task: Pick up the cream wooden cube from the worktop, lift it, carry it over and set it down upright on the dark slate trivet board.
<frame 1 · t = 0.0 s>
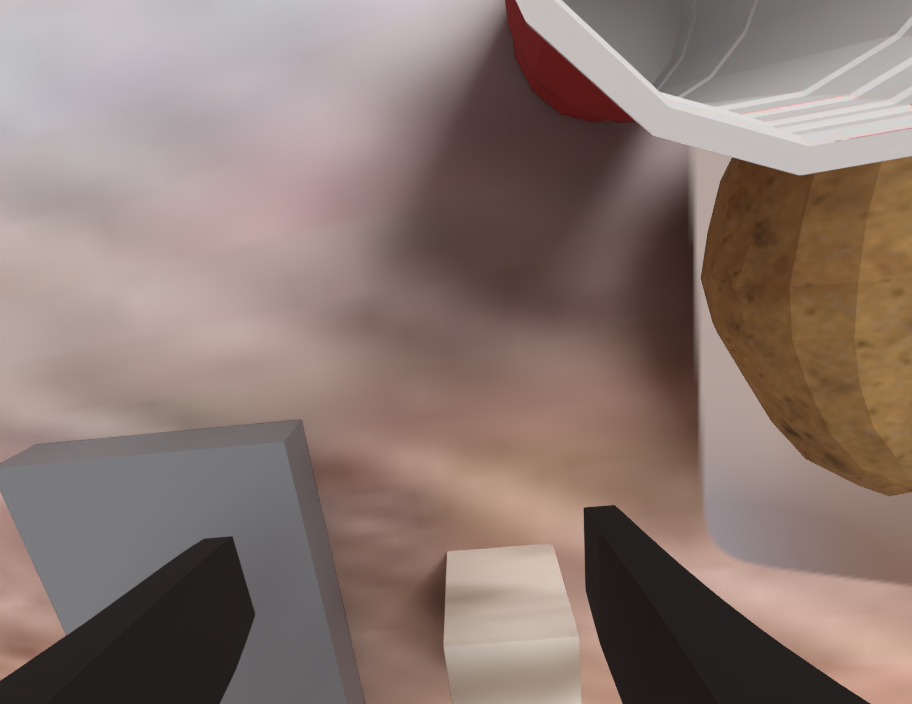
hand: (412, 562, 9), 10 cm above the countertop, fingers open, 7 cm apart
plastic cup: (598, 36, 15), on the countertop
slate board: (219, 596, 22), on the countertop
potato: (782, 252, 17), on the countertop
cream cube: (503, 588, 22), on the countertop
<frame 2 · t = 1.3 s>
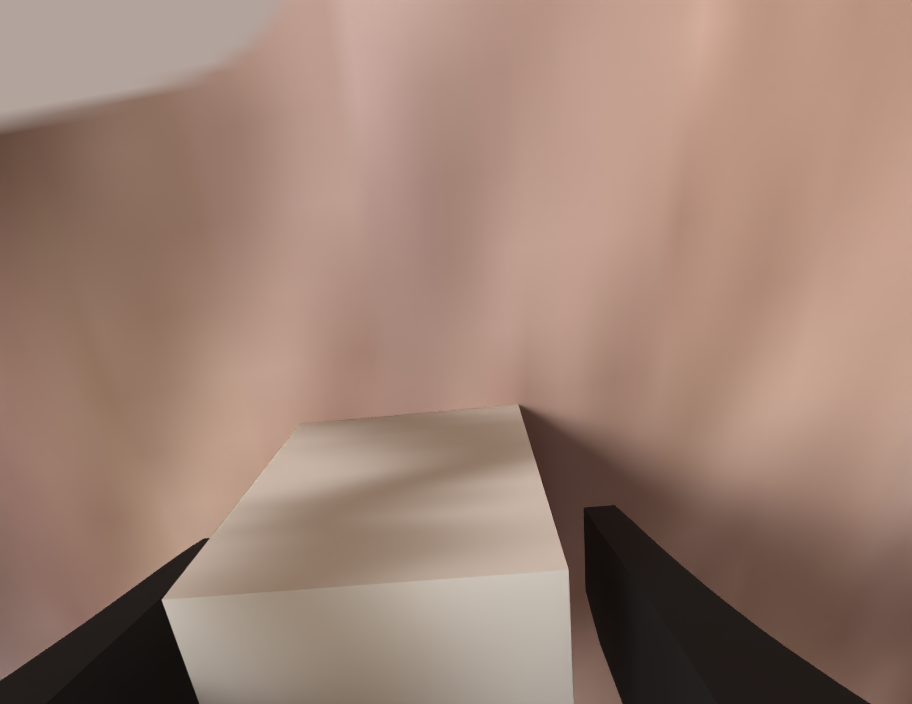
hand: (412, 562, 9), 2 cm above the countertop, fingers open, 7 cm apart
cream cube: (421, 506, 11), on the countertop
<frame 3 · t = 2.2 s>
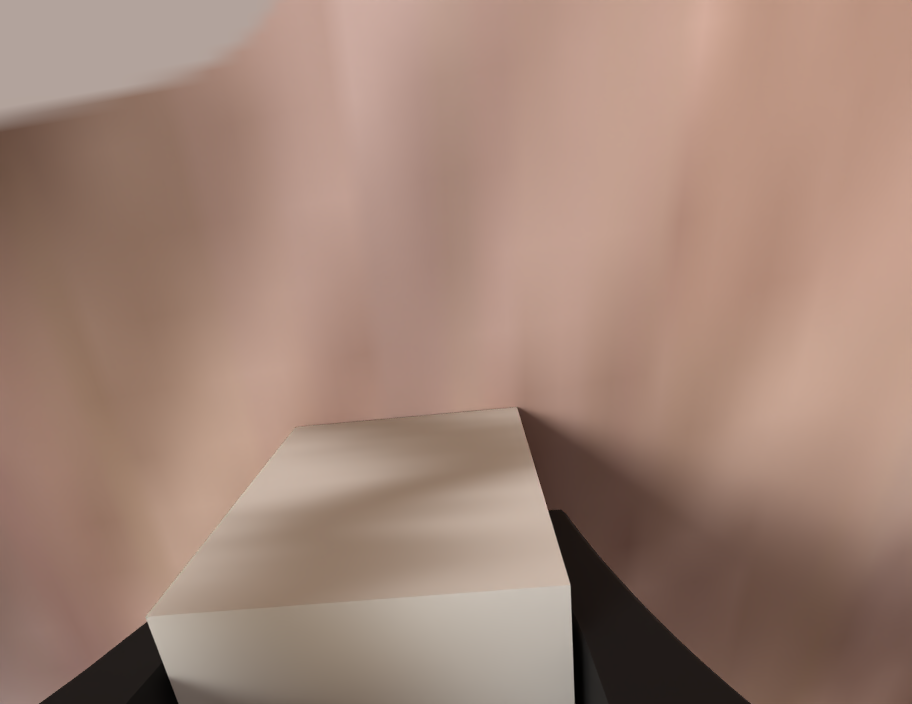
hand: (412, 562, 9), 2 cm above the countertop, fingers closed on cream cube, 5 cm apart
cream cube: (419, 512, 11), on the countertop, touching gripper
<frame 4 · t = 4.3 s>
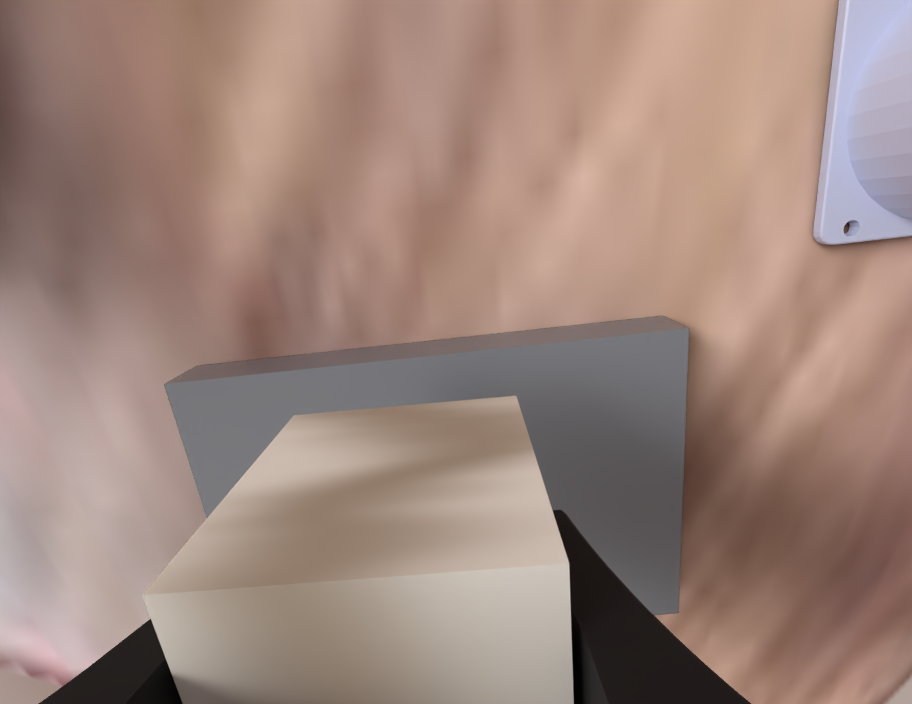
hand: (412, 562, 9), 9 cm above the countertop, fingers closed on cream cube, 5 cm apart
slate board: (443, 478, 19), on the countertop
cream cube: (417, 501, 11), point 7 cm above the countertop, touching gripper
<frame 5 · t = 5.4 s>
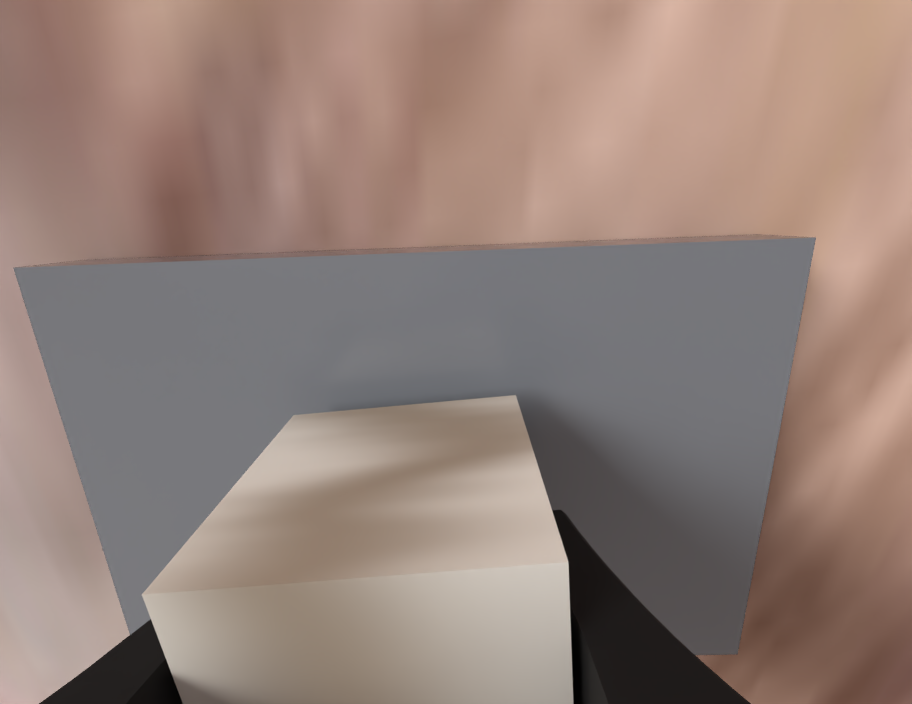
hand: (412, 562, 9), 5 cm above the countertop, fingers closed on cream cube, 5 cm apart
slate board: (428, 448, 14), on the countertop
cream cube: (417, 501, 11), point 3 cm above the countertop, touching gripper
when the fingers open (5 cm above the countertop, at t = 6.3 s): cream cube stays where it is, resting on slate board.
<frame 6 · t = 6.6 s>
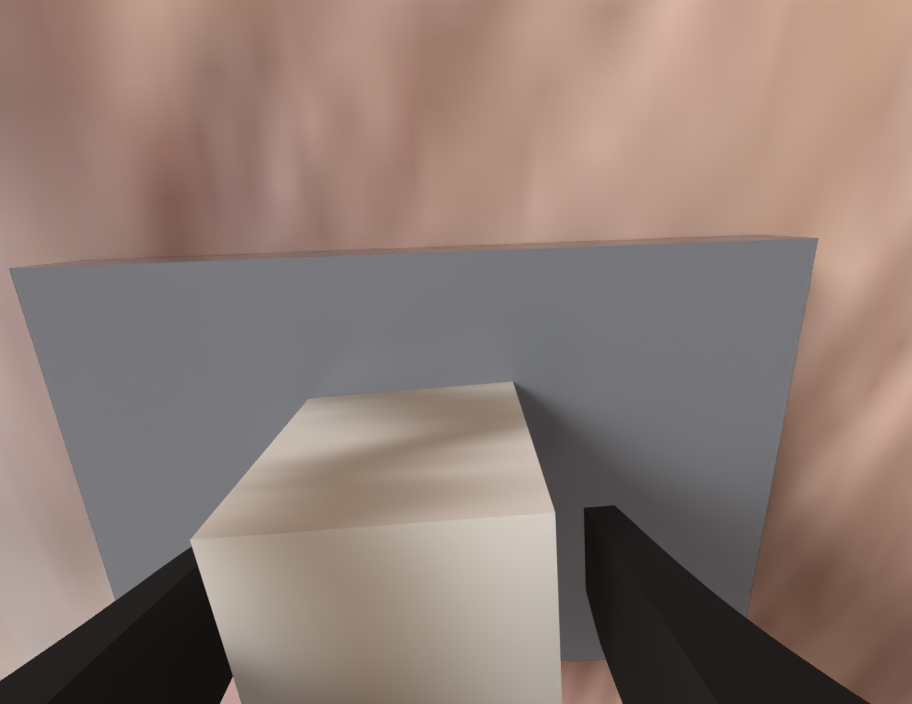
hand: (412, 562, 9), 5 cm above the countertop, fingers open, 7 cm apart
slate board: (427, 450, 14), on the countertop
cream cube: (421, 480, 12), point 2 cm above the countertop, touching slate board
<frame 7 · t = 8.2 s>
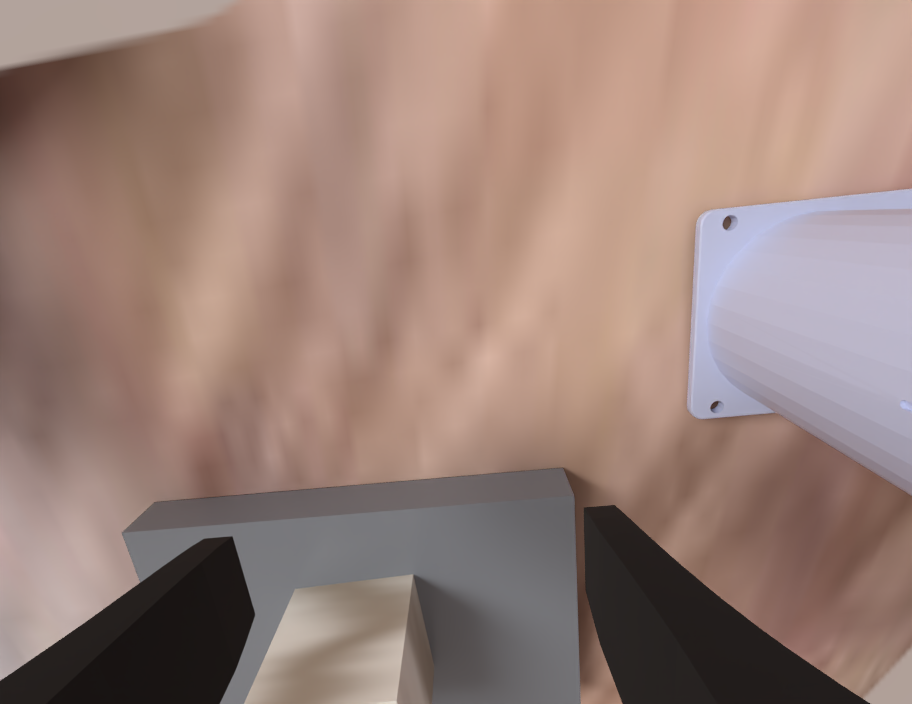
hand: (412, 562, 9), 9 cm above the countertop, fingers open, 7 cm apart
slate board: (376, 595, 21), on the countertop
cream cube: (366, 628, 19), point 2 cm above the countertop, touching slate board
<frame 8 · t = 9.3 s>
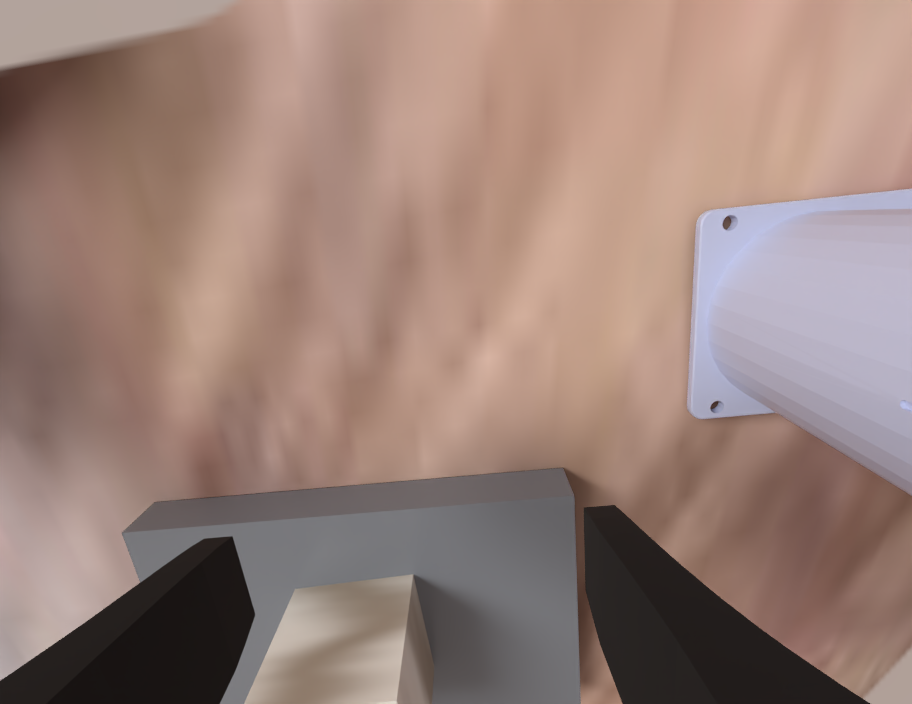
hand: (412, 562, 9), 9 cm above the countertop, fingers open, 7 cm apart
slate board: (376, 595, 21), on the countertop
cream cube: (366, 628, 19), point 2 cm above the countertop, touching slate board
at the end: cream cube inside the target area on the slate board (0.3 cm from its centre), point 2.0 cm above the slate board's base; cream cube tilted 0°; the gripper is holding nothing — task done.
